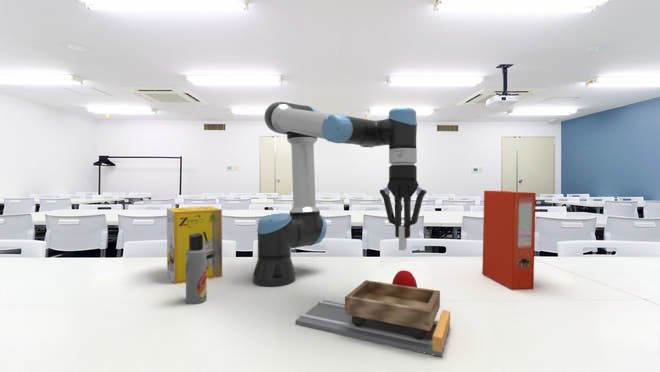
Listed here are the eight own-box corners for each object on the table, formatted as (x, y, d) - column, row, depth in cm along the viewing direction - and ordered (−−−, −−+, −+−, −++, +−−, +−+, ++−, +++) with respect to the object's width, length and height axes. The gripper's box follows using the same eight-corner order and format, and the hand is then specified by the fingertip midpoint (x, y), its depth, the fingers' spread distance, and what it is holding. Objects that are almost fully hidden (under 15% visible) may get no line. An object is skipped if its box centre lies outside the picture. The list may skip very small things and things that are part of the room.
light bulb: (418, 315, 89) (418, 278, 89) (391, 313, 90) (391, 276, 90) (416, 302, 98) (416, 268, 98) (392, 300, 99) (392, 267, 99)
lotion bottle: (210, 298, 101) (210, 233, 100) (197, 305, 95) (196, 236, 95) (195, 296, 103) (194, 232, 102) (181, 303, 97) (181, 234, 97)
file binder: (502, 274, 127) (503, 190, 126) (534, 289, 110) (535, 192, 109) (482, 274, 126) (483, 190, 126) (511, 289, 109) (512, 192, 108)
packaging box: (222, 276, 124) (221, 209, 123) (174, 284, 115) (174, 211, 114) (210, 266, 137) (210, 206, 137) (167, 273, 128) (166, 208, 127)
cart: (344, 326, 78) (344, 297, 78) (365, 305, 91) (365, 280, 91) (430, 345, 69) (430, 311, 69) (439, 318, 82) (439, 290, 82)
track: (295, 324, 83) (295, 308, 83) (323, 303, 97) (323, 290, 97) (441, 357, 68) (441, 337, 68) (450, 327, 82) (450, 311, 82)
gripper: (375, 164, 92) (376, 249, 93) (423, 163, 86) (423, 254, 87) (384, 165, 99) (384, 244, 99) (429, 164, 93) (429, 248, 93)
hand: (402, 249), depth 93 cm, fingers closed
